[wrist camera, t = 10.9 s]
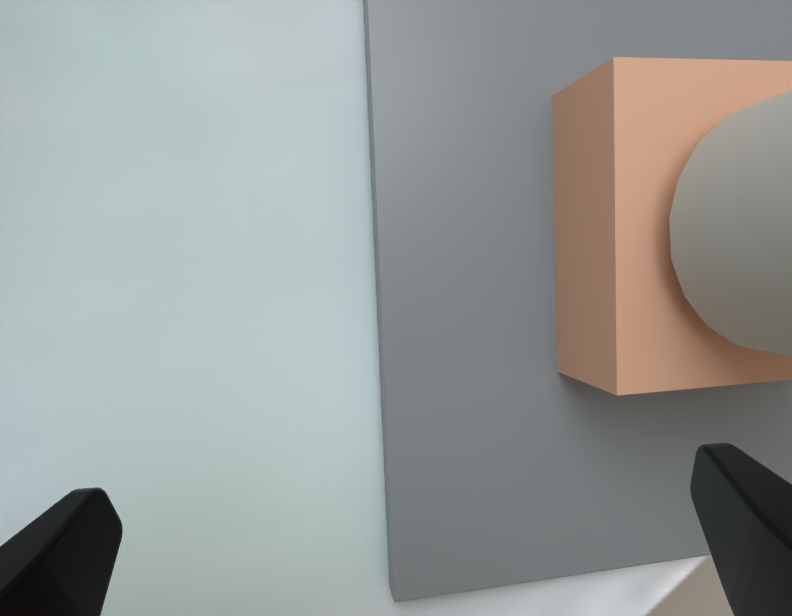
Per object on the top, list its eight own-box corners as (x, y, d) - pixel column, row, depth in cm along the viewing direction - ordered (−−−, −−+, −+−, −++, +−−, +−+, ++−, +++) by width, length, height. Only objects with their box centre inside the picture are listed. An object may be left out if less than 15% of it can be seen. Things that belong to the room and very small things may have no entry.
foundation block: (788, 352, 24) (888, 370, 20) (557, 371, 22) (617, 395, 18) (792, 97, 23) (898, 63, 19) (552, 95, 21) (613, 56, 17)
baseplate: (795, 528, 25) (816, 538, 24) (389, 587, 22) (394, 602, 21) (804, 3, 24) (827, -8, 23) (362, -16, 20) (366, -30, 19)
